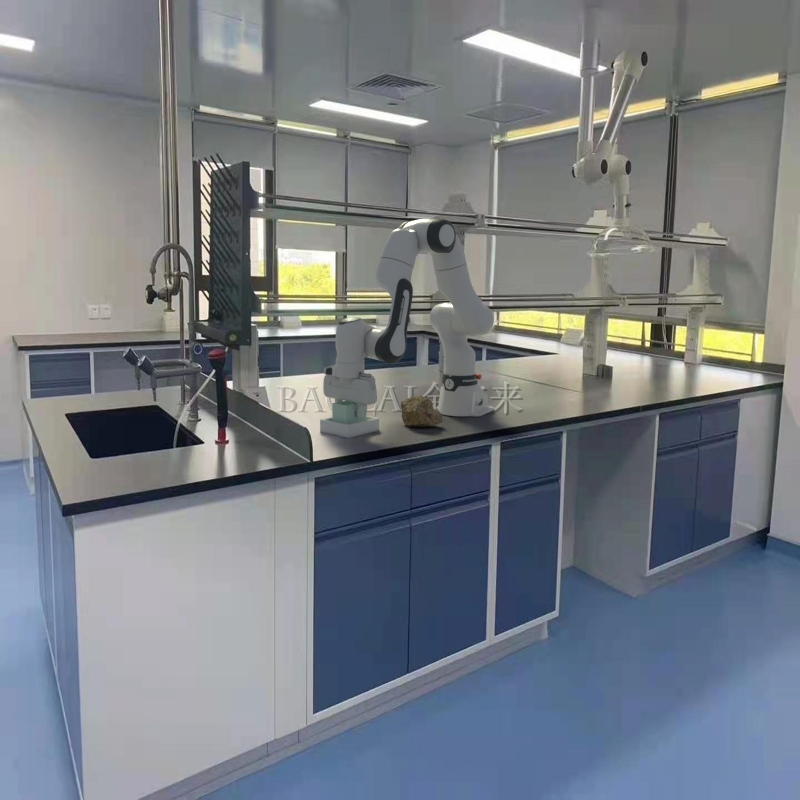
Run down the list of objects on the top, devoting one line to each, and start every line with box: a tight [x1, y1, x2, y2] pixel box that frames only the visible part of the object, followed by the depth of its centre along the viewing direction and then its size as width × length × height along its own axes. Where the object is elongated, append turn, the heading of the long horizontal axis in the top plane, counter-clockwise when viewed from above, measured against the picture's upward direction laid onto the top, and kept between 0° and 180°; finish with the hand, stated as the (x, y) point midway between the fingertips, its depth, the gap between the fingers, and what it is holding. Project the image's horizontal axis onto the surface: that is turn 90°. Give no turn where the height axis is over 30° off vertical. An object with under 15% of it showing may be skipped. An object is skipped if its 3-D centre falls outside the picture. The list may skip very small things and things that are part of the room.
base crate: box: [319, 415, 380, 440], centre depth 207 cm, size 14×12×4 cm
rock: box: [400, 395, 443, 428], centre depth 217 cm, size 11×12×10 cm
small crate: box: [331, 400, 368, 424], centre depth 206 cm, size 9×6×6 cm, turn 140°
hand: (349, 414), depth 207 cm, fingers closed on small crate, 6 cm apart
